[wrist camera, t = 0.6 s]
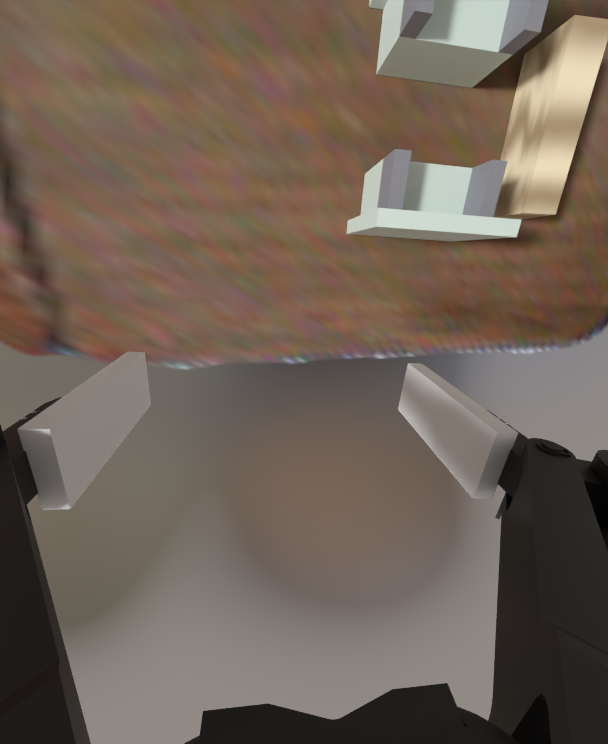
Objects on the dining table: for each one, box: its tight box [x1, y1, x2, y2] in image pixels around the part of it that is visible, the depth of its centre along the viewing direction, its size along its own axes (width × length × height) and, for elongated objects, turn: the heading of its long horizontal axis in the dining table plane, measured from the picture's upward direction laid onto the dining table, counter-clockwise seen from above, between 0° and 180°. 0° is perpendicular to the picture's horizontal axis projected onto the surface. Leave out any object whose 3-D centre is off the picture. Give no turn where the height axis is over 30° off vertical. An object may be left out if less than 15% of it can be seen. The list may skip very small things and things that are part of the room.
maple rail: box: [493, 15, 608, 219], centre depth 33 cm, size 16×4×6 cm, turn 178°
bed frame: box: [347, 0, 549, 241], centre depth 25 cm, size 22×14×20 cm, turn 177°
